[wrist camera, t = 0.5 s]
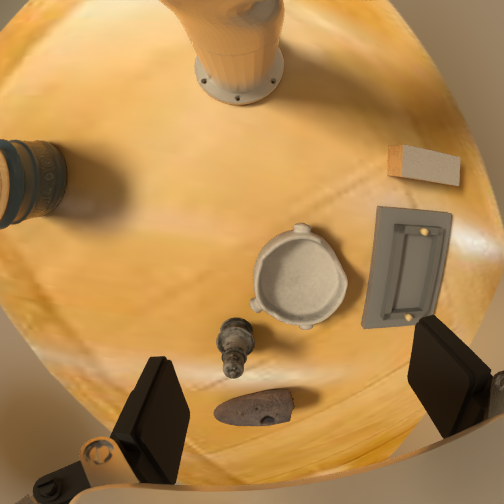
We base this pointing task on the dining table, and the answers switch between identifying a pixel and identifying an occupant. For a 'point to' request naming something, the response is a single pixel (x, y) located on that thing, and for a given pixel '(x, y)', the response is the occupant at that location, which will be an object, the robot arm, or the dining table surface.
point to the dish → (298, 278)
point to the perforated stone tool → (257, 409)
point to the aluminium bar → (423, 165)
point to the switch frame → (405, 266)
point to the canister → (29, 180)
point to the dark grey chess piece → (235, 345)
